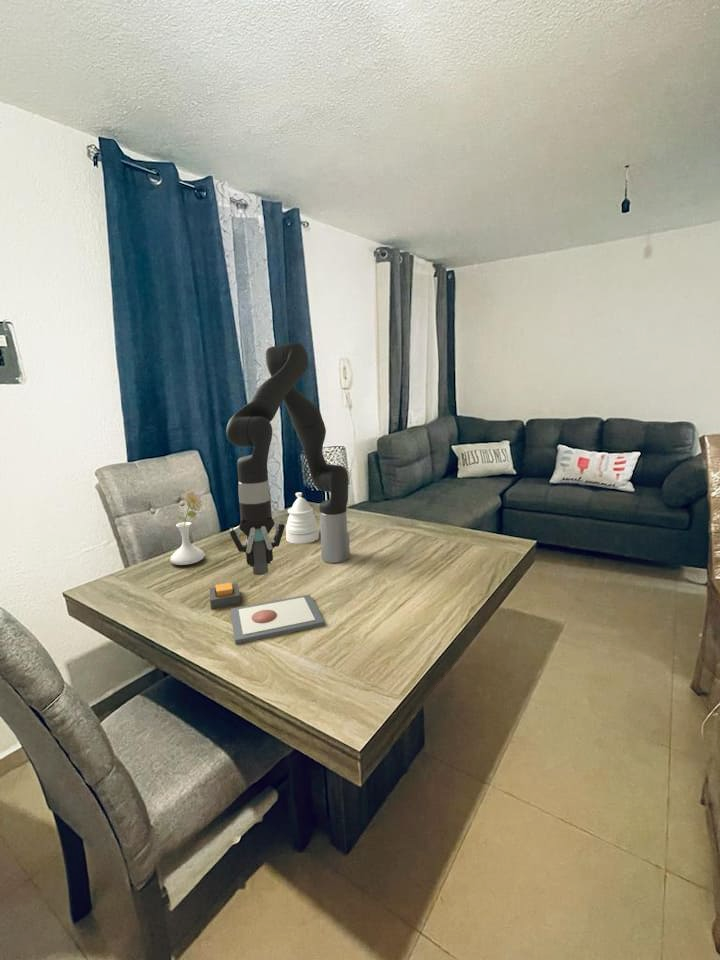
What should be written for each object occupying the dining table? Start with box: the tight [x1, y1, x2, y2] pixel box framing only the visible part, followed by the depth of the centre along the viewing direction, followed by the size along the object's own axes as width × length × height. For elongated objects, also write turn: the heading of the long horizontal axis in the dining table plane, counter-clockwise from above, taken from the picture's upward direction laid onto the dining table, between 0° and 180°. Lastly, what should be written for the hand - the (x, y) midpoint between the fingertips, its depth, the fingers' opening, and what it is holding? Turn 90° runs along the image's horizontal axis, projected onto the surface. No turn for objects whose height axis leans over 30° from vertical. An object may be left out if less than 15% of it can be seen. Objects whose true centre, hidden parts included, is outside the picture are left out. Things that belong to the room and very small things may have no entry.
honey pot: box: [285, 491, 320, 545], centre depth 174 cm, size 13×13×18 cm
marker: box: [251, 528, 269, 576], centre depth 111 cm, size 4×4×12 cm
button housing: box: [209, 582, 242, 610], centre depth 127 cm, size 8×8×3 cm
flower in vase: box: [169, 490, 206, 566], centre depth 153 cm, size 13×11×25 cm
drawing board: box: [230, 594, 325, 645], centre depth 116 cm, size 22×16×1 cm
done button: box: [215, 582, 233, 597], centre depth 127 cm, size 4×4×2 cm
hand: (260, 563), depth 112 cm, fingers closed on marker, 3 cm apart
